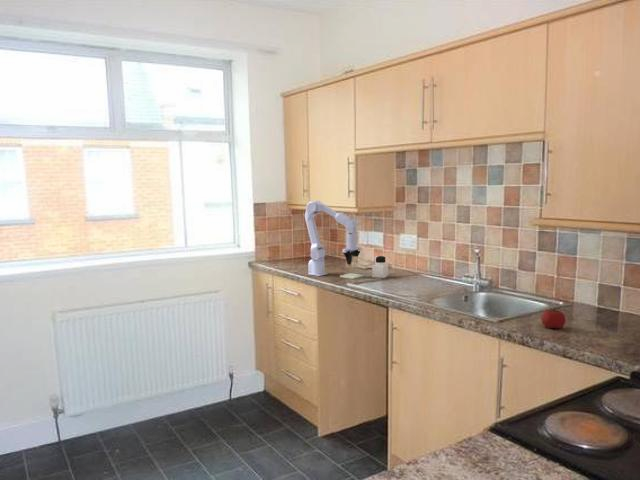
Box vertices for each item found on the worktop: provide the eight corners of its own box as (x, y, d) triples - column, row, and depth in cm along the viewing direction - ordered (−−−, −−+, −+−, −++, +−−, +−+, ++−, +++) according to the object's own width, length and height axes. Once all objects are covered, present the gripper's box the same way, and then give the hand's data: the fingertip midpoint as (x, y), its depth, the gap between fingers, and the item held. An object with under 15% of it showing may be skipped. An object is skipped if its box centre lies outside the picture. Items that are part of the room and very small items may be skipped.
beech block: (346, 266, 291) (346, 256, 290) (351, 265, 294) (351, 255, 293) (352, 267, 288) (352, 257, 287) (357, 266, 291) (357, 256, 290)
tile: (339, 276, 291) (339, 275, 291) (350, 274, 299) (350, 273, 299) (353, 278, 285) (353, 277, 285) (363, 276, 292) (363, 275, 292)
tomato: (548, 323, 191) (549, 305, 190) (569, 328, 185) (569, 309, 184) (536, 327, 186) (537, 308, 185) (557, 332, 180) (558, 312, 179)
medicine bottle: (388, 276, 292) (388, 255, 290) (383, 278, 286) (383, 257, 284) (377, 275, 295) (377, 255, 294) (371, 277, 289) (371, 256, 288)
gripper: (349, 242, 281) (349, 265, 283) (364, 239, 292) (364, 262, 294) (339, 241, 286) (339, 264, 288) (355, 238, 297) (355, 261, 298)
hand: (351, 263), depth 291 cm, fingers closed on beech block, 4 cm apart
